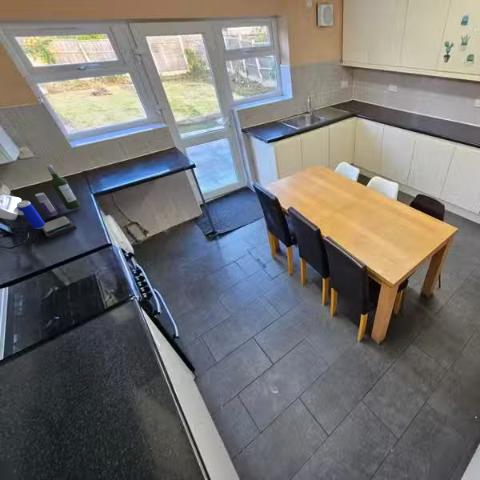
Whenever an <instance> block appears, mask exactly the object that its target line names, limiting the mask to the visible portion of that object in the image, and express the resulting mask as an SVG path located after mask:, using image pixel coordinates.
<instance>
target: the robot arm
mask: <svg viewBox="0 0 480 480" xmlns="http://www.w3.org/2000/svg"><path fill="white" fill-rule="evenodd" d="M20 201H23V200H22V198H20V197H17V196H13V195H9V194H4V193H2V194H0V219H5V220H10V221H15V220H16V219H17V217H18V216H24V213H23V212H22V211H21V210H19V208H18V207H17V203H18V202H20Z"/></svg>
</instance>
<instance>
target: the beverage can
mask: <svg viewBox="0 0 480 480" xmlns="http://www.w3.org/2000/svg"><path fill="white" fill-rule="evenodd" d="M17 207H18V208H19V210H21V211H22V212H23V213H24V215H23V216H24V218H25V219H26V221H27V222H28V223H29V224H30V226H31V227H32V228H33V229H35V230H40V229H42V228H43V227H44V226H45V223H46V222H45V221H44V220H43V218H42V217H41V215H40V214H39V212H38V211H37V210H36V208H35V207H34V205H33V203H31V201H29V200H21V201H20V202H18V203H17Z"/></svg>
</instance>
